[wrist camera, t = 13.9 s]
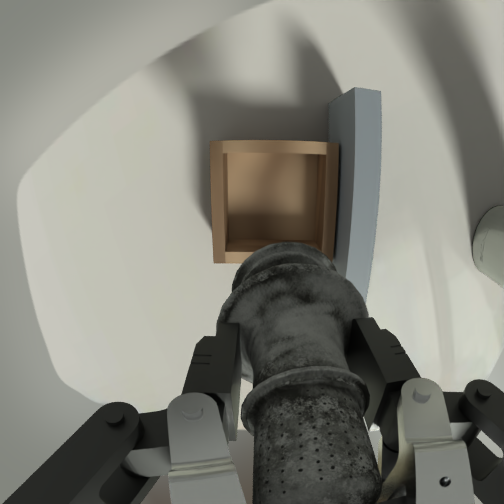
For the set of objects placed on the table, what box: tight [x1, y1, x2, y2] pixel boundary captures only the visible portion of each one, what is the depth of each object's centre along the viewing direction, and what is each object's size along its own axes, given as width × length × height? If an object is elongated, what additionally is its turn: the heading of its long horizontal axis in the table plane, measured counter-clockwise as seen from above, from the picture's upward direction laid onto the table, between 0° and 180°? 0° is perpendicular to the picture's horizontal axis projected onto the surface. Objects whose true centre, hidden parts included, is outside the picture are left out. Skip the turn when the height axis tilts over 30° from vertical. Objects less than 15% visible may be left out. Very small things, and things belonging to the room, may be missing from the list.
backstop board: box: [329, 87, 382, 304], centre depth 24 cm, size 2×18×8 cm, turn 0°
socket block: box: [210, 140, 339, 263], centre depth 25 cm, size 10×10×4 cm
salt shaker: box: [216, 241, 382, 504], centre depth 9 cm, size 6×6×12 cm
